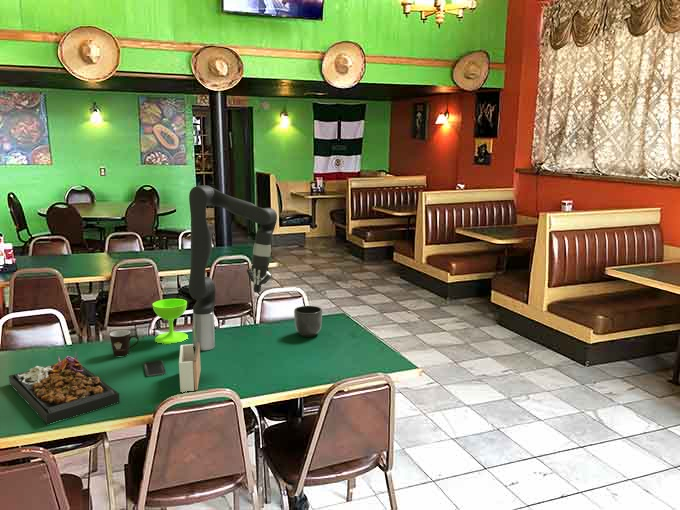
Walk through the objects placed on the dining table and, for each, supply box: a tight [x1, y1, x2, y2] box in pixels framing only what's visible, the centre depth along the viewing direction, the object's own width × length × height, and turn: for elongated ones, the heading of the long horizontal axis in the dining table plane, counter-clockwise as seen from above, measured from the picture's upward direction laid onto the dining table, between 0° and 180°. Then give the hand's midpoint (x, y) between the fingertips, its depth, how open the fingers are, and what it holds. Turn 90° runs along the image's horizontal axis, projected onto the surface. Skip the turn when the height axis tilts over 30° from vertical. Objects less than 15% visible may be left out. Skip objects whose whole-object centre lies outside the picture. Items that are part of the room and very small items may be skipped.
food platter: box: [8, 351, 120, 424], centre depth 211 cm, size 45×25×10 cm, turn 44°
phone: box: [143, 359, 167, 377], centre depth 235 cm, size 8×1×15 cm
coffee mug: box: [109, 329, 140, 357], centre depth 250 cm, size 12×9×10 cm
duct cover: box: [193, 343, 202, 391], centre depth 222 cm, size 1×19×12 cm, turn 10°
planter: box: [293, 305, 323, 338], centre depth 278 cm, size 14×14×13 cm
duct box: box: [178, 343, 195, 394], centre depth 221 cm, size 5×20×12 cm, turn 14°
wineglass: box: [151, 298, 189, 345], centre depth 270 cm, size 16×16×18 cm
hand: (256, 292), depth 244 cm, fingers closed
